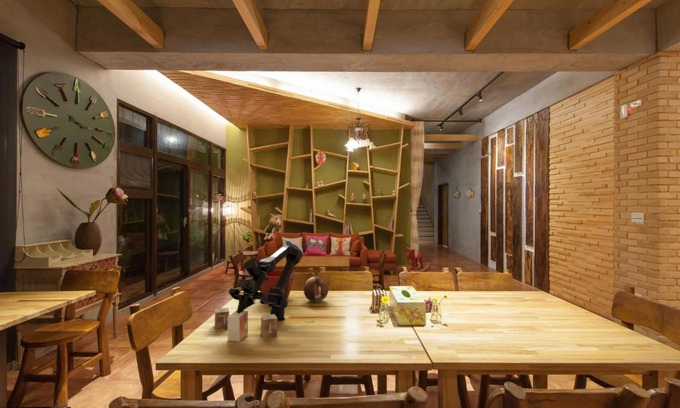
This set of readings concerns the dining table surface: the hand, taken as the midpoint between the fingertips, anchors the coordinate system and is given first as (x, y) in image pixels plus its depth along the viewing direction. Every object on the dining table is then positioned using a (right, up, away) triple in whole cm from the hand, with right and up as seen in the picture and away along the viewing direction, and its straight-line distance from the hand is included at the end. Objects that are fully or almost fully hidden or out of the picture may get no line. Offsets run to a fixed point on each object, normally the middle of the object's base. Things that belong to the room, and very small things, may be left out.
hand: (237, 312), depth 143 cm
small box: (0, -11, 0) cm, 11 cm away
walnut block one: (+12, -11, +4) cm, 17 cm away
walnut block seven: (-12, -11, +13) cm, 21 cm away
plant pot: (+5, -12, +59) cm, 60 cm away
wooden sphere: (+29, -13, +58) cm, 66 cm away
